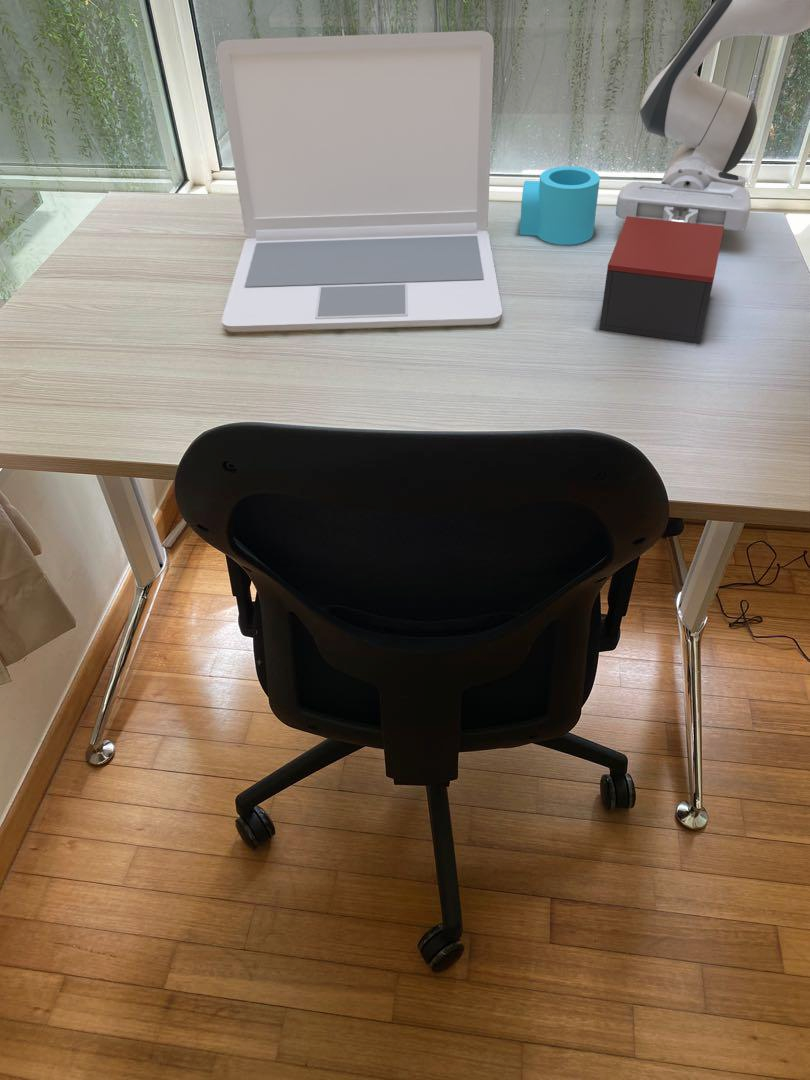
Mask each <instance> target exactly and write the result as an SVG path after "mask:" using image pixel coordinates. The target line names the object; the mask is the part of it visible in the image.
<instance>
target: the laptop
mask: <svg viewBox="0 0 810 1080" xmlns="http://www.w3.org/2000/svg"><path fill="white" fill-rule="evenodd" d="M493 37H494V36H492V34H490V33H489V32H488V31H486V30H485V31H484V30H462V31H461V30H460V31H459V30H458V31H457V30H456V31H436V32H435V31H434V32H407V33H380V34H379V33H378V34H377V33H376V34H352V35H327V36H325V35H324V36H322V35H321V36H298V37H297V36H295V37H293V36H292V37H272V38H270V37H269V38H243V39H241V38H240V39H226V40H223V41H220V42H219V44H218V45H217V46H216V61H217V66H218V74H219V80H220V86H221V94H222V98H223V99H222V100H223V105H224V110H225V118H226V123H227V130H228V137H229V143H230V149H231V155H232V161H233V168H234V174H235V179H236V186H237V191H238V192H237V193H238V199H239V204H240V210H241V216H242V225H243V229H244V230H243V231H244V235H245V236H246V237H249V238H246V239H244V243H243V246H242V249H241V253H240V256H239V259H238V263H237V266H236V270H235V273H234V277H233V280H232V283H231V286H230V290H229V293H228V296H227V299H226V303H225V307H224V310H223V314H222V316H221V324H222V327H223V329H225V330H226V331H227V332H230V333H263V332H264V333H265V332H292V331H293V332H295V331H327V330H328V331H329V330H330V331H331V330H351V329H352V330H355V329H356V330H358V329H359V330H360V329H361V330H362V329H389V328H390V329H391V328H392V329H393V328H424V327H427V328H429V327H455V326H459V327H460V326H488V325H494V324H496V323H498V322H499V321H500V320H501V317H502V313H503V306H502V301H501V296H500V291H499V286H498V280H497V273H496V269H495V264H494V257H493V252H492V246H491V241H490V235H489V231H487V230H486V229H487V228H488V227H489V207H490V206H489V205H490V179H491V177H490V175H491V149H492V148H491V145H492V122H493V121H492V118H493V117H492V116H493V91H494V61H495V60H494V59H495V42H494V38H493ZM484 229H485V230H484Z"/></svg>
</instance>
